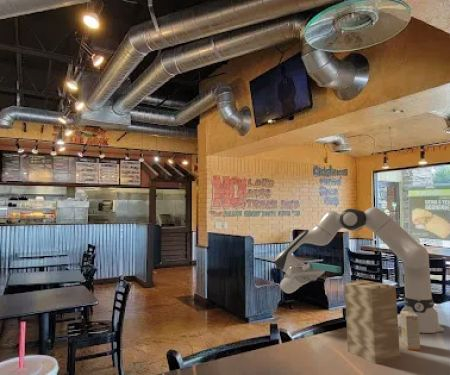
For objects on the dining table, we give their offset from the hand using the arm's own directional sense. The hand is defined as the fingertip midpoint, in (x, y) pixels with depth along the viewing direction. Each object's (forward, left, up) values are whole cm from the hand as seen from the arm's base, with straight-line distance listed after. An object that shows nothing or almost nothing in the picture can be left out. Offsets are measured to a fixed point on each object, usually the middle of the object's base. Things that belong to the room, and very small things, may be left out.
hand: (313, 264), depth 172 cm
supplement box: (+7, +40, -31) cm, 51 cm away
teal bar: (+5, +6, -2) cm, 7 cm away
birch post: (+22, +27, -30) cm, 46 cm away
